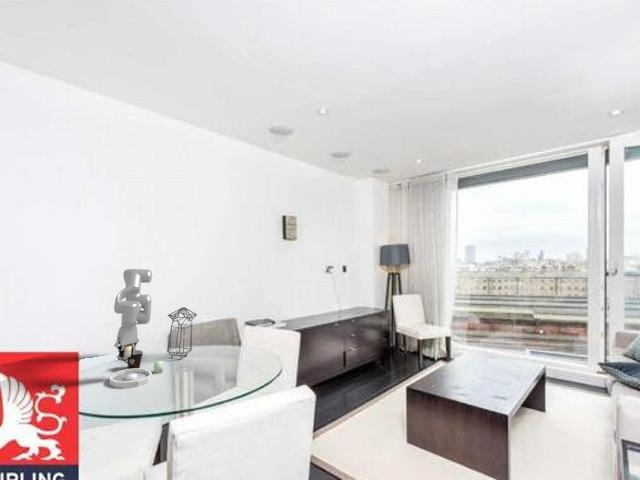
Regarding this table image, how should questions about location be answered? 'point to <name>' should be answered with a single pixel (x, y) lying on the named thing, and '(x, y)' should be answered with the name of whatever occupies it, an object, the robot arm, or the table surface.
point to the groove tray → (130, 378)
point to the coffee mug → (134, 359)
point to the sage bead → (158, 367)
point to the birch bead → (127, 351)
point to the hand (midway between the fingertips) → (126, 355)
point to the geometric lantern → (181, 330)
